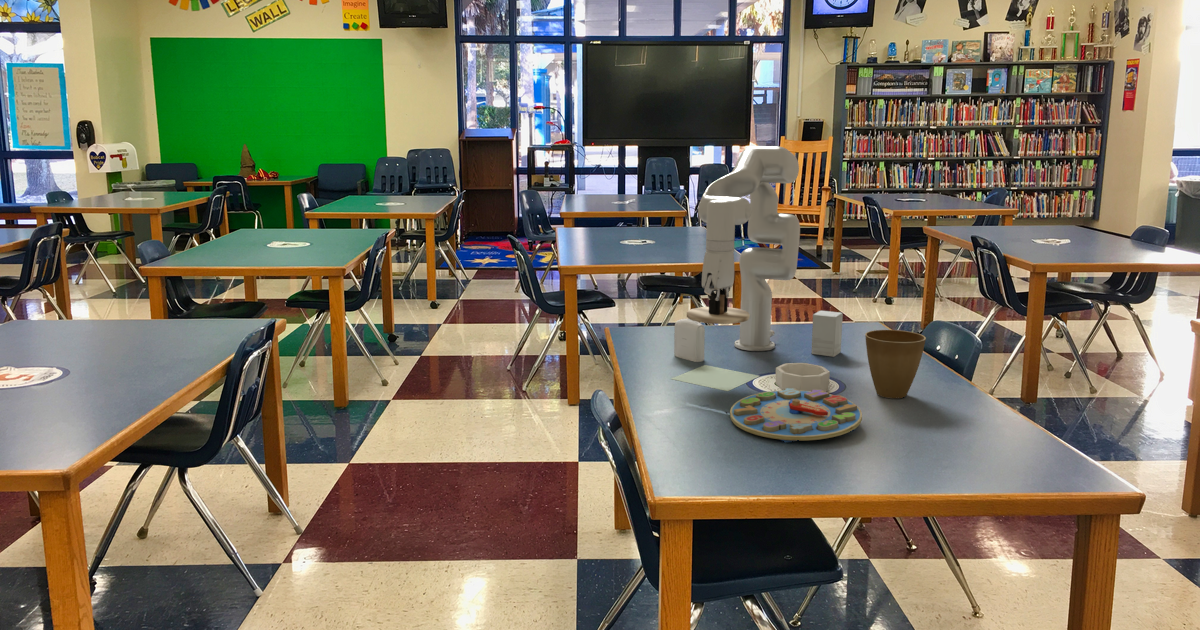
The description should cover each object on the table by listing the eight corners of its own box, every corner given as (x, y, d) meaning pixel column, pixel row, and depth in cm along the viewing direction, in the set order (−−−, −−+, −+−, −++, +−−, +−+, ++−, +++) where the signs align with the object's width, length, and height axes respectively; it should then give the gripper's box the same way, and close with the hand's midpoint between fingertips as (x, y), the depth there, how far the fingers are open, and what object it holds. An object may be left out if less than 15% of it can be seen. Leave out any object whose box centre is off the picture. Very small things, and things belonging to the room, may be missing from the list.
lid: (707, 307, 252) (707, 286, 251) (760, 315, 242) (761, 294, 241) (674, 317, 239) (675, 296, 238) (729, 327, 229) (730, 304, 228)
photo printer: (671, 357, 267) (672, 317, 264) (681, 355, 270) (682, 315, 267) (696, 364, 259) (697, 323, 257) (706, 362, 262) (707, 321, 259)
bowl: (790, 377, 246) (791, 360, 245) (834, 386, 238) (835, 368, 237) (768, 388, 236) (769, 370, 235) (813, 398, 228) (815, 379, 227)
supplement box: (841, 352, 274) (844, 312, 271) (833, 357, 267) (836, 316, 265) (818, 348, 277) (820, 309, 275) (810, 354, 271) (812, 314, 269)
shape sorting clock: (706, 412, 218) (706, 389, 216) (808, 397, 230) (809, 375, 228) (777, 455, 190) (778, 428, 189) (889, 436, 202) (891, 411, 201)
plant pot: (929, 393, 232) (935, 335, 228) (906, 407, 221) (911, 345, 218) (876, 382, 242) (880, 326, 238) (851, 394, 231) (855, 335, 227)
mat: (704, 366, 257) (704, 364, 256) (760, 377, 246) (760, 375, 246) (670, 380, 243) (670, 378, 243) (727, 393, 232) (727, 391, 232)
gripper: (723, 241, 245) (721, 306, 249) (691, 248, 232) (690, 316, 236) (747, 244, 240) (744, 309, 244) (716, 251, 228) (714, 320, 232)
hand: (718, 312), depth 240 cm, fingers closed on lid, 3 cm apart
